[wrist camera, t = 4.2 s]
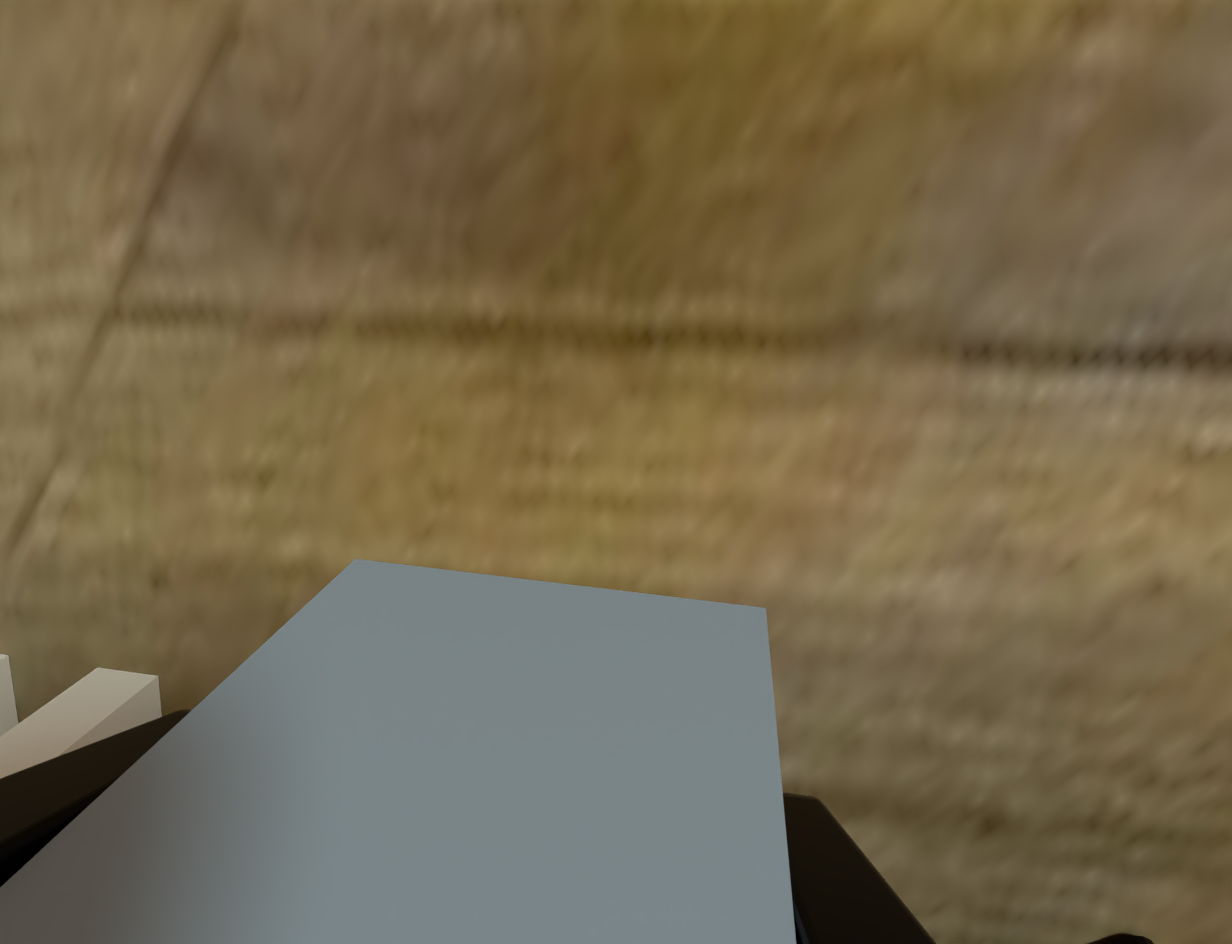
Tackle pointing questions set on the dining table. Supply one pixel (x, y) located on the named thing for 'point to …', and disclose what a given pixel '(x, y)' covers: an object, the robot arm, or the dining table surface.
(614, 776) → the domino
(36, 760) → the domino
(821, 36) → the dining table surface
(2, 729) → the domino
